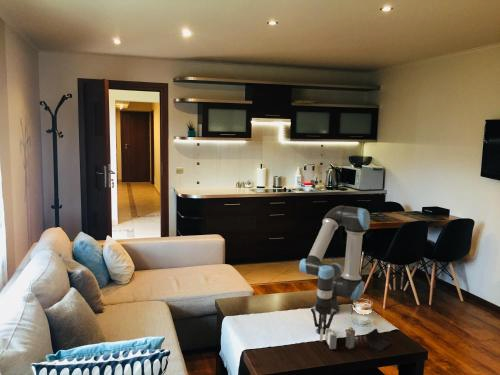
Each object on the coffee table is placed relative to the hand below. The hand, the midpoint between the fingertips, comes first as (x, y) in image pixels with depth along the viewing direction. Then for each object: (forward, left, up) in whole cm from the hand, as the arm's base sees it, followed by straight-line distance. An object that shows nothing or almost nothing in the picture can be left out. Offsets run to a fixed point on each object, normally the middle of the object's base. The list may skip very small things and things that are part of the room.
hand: (321, 339), depth 213 cm
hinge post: (-9, +8, -2) cm, 12 cm away
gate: (+1, +4, -1) cm, 4 cm away
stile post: (+9, +11, -2) cm, 15 cm away
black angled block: (+14, +26, -3) cm, 30 cm away
